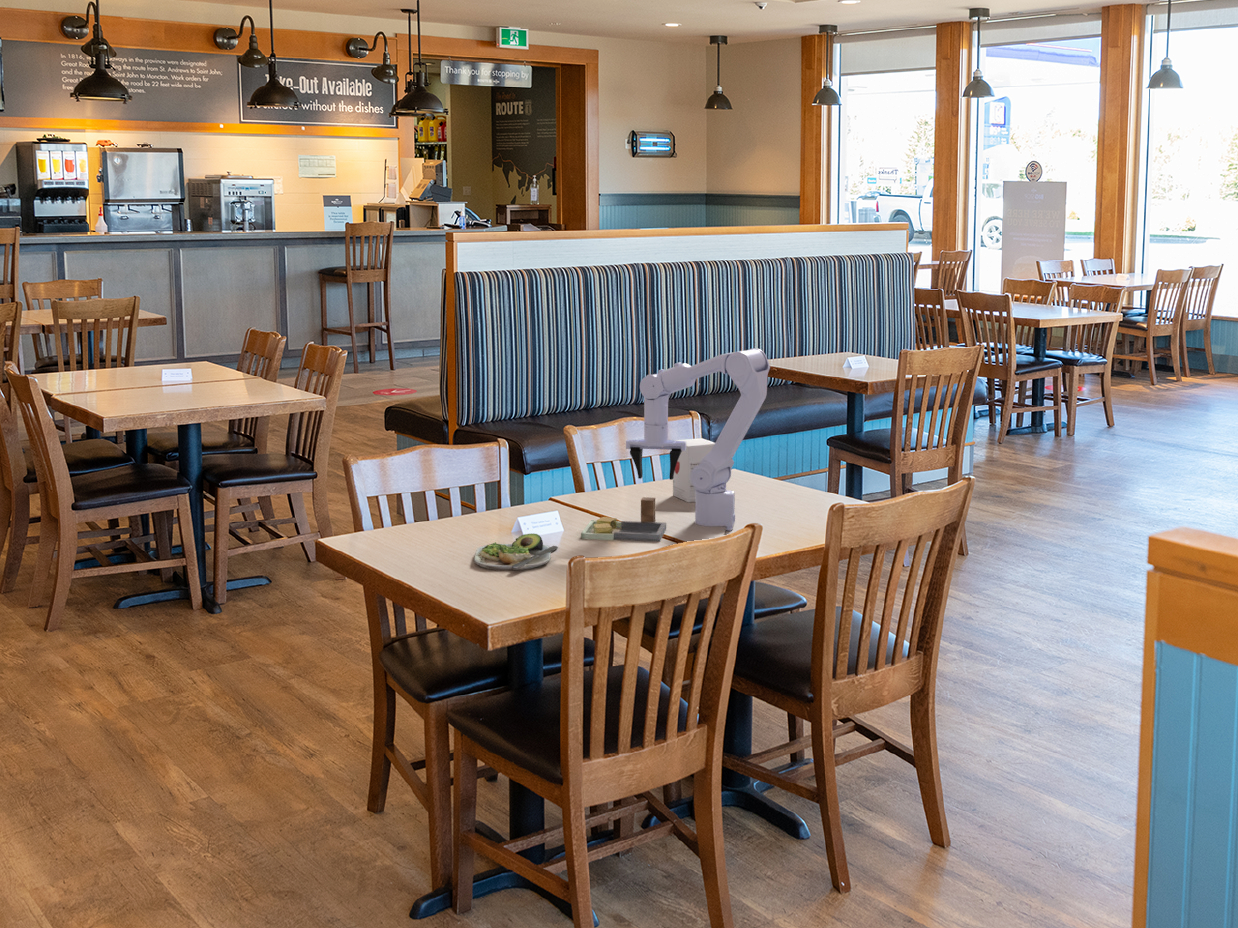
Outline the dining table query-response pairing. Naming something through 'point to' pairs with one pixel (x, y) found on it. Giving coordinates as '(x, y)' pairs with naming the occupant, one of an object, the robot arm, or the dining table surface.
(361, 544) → the dining table surface
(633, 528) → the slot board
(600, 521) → the brushed gold cube
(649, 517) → the brown block with peg
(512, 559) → the salad plate
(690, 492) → the supplement box
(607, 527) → the chip
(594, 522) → the tray
